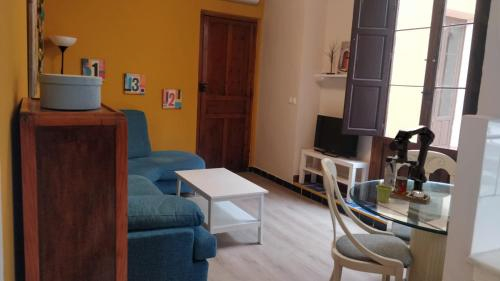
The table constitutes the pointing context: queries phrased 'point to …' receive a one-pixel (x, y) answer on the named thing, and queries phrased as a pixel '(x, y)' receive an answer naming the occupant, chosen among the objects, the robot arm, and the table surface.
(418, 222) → the table surface
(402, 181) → the soda can
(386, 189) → the plant pot
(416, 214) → the table surface
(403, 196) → the rack
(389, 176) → the coffee box
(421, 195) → the tin
